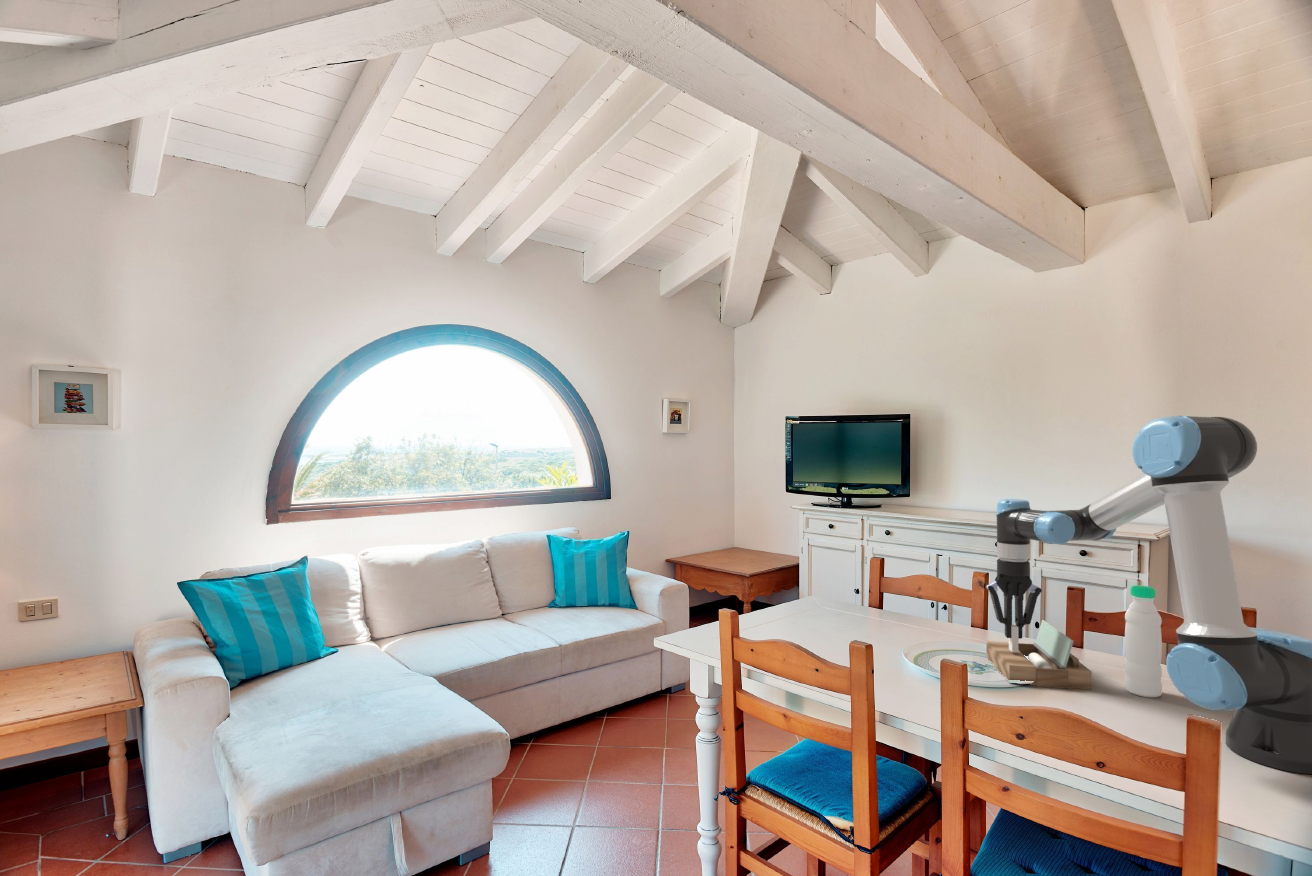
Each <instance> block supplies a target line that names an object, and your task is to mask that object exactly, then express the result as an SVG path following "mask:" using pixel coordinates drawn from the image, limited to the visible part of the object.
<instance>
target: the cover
mask: <svg viewBox="0 0 1312 876" xmlns="http://www.w3.org/2000/svg"><path fill="white" fill-rule="evenodd" d="M1032 644H1033V645H1034V646H1035V647H1036V648H1037V649H1038V650H1040V651H1041V652H1042V653H1043V654H1044V655H1045V656H1047V657H1048V658H1049V659H1050V660H1051V661H1052V662H1054V663H1055V664H1056V665H1057V666H1058V667H1059V668H1061V669H1065V668H1066V665H1067V662H1068V658H1069V655H1070V653H1071V652H1072V648H1073V645H1074V640H1072V639H1071V638H1070V637H1068V636H1067V635H1065V633H1063V632H1062V631H1061V630H1059V629H1057V628H1056V627H1054V626H1053V625H1051V624H1050V623H1049V622H1048V621H1046V619H1045V620H1044V619H1042V620H1041V624H1040V626H1039V630H1038V634H1037V637H1036V639H1035V642H1033V643H1032Z"/></svg>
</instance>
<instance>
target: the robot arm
mask: <svg viewBox="0 0 1312 876" xmlns="http://www.w3.org/2000/svg"><path fill="white" fill-rule="evenodd" d="M1256 439H1257V438H1256V437H1255V435H1254V433H1253V432H1252V431H1251V429H1250V428H1248V427H1247V426H1246V425H1245V424H1244V423H1242V422H1239V421H1238V420H1236V419H1234V418H1230V417H1224V416H1187V415H1176V416H1165V417H1159V418H1156V419H1154V420H1151V421H1150V422H1148V423H1146V424H1145V425H1143V427H1142V428H1141V429H1140V431H1139V432H1138V433H1136V436H1135V438H1134V441H1133V444H1132V448H1131V449H1132V453H1131V454H1132V457H1133V463H1135V466H1136V467H1137V468H1138V469H1140V470H1141V472H1142V473H1143V474H1140V475H1139V476H1138V477H1136V478H1134V479H1132V480H1131V481H1128V482H1127V483H1124V484H1123V485H1121V486H1119V487H1118V488H1115V489H1114V490H1113V491H1111V492H1109V493H1107V494H1106V495H1104V496H1102V497H1100V498H1099V499H1097V500H1095V501H1093V502H1092V503H1090V504H1088V505H1086V506H1084V507H1082V508H1080V509H1070V510H1069V509H1067V510H1066V509H1065V510H1041V509H1040V510H1039V509H1031V507H1030V506H1031V505H1030V502H1029V500H1026V499H1020V498H1019V499H1018V498H1017V499H1016V498H1002V499H1000V500H998V501H997V505H996V514H995V515H996V550H997V551H996V556H997V558H998V559H997V560H996V577H995V579H994V581H993V582H992V583H990V584H989V583H987V584H986V585H985V588H986V590H987V591H988V593H989V595H990V598H991V603H992V606H993V610H994V613H995V614H994V615H995V617H996V618H995V619H996V620H997V621H998V622H999V623H1000V624H1003V625H1004V635H1005V637H1006V638H1007V639H1008V642H1009V649H1010V650H1011V651H1012V652H1018V643H1019V639H1020V640H1021V639H1023V628H1024V626H1026V625H1030V624H1031V623H1032V619H1033V615H1034V612H1035V607H1036V604H1037V599H1038V597H1039V596H1040V595H1041V593H1042V591H1043V589H1042V588H1041V587H1039V586H1037V585H1035V584H1034V583H1033V581H1032V578H1031V562H1030V561H1029V560H1030V558H1031V551H1030V550H1031V549H1030V548H1031V544H1030V543H1031V541H1032V540H1033V541H1038V542H1041V543H1042V542H1043V543H1046V544H1050V545H1053V544H1055V545H1065V544H1067V543H1068V542H1075V541H1077V542H1078V541H1079V542H1080V541H1100V540H1106V539H1109V538H1112V536H1113V535H1114V533H1115V532H1116V531H1117V528H1119V527H1122V526H1123V525H1125V524H1127V523H1129V522H1132V521H1133V520H1136V519H1138V518H1140V517H1142V516H1144V515H1146V514H1147V513H1149V512H1152V511H1154V510H1155V509H1157V508H1159V507H1161V506H1165V514H1166V518H1167V519H1166V520H1167V524H1168V525H1167V526H1168V530H1169V536H1170V542H1171V548H1172V556H1173V561H1174V566H1175V573H1176V578H1177V585H1178V590H1179V596H1180V605H1181V609H1182V614H1183V623H1181V625H1180V626H1179V627H1177V628H1176V629H1175V633H1176V638H1177V645H1175V646H1174V647H1172V648H1171V649H1170V652H1169V653H1167V656H1166V661H1165V662H1166V663H1165V664H1166V665H1165V666H1166V670H1167V675H1168V676H1169V678H1170V681H1171V683H1172V685H1173V686H1174V687H1175V688H1176V690H1177V691H1178V692H1179V693H1180V694H1182V695H1183V696H1184V697H1185V698H1186V700H1188V701H1190V702H1191V703H1192V704H1194V705H1196V706H1198V707H1201V708H1204V709H1206V710H1212V711H1234V713H1233V715H1232V717H1231V719H1230V721H1229V722H1230V723H1228V726H1227V728H1226V731H1225V745H1226V746H1227V748H1229V750H1231V751H1232V752H1233V753H1235V754H1237V755H1239V756H1242V757H1243V758H1245V759H1247V760H1249V761H1253V762H1255V763H1257V764H1260V765H1264V766H1267V767H1270V768H1274V769H1278V770H1283V771H1287V772H1293V773H1297V774H1305V775H1312V640H1311V639H1308V638H1306V637H1302V636H1299V635H1294V634H1290V633H1286V632H1285V633H1284V632H1281V631H1280V632H1279V631H1277V630H1276V631H1275V630H1272V629H1271V630H1270V629H1264V628H1259V627H1249V626H1248V625H1246V623H1244V617H1243V612H1242V606H1241V600H1240V594H1239V590H1238V584H1237V578H1236V572H1235V567H1234V561H1233V556H1232V551H1231V545H1230V540H1229V535H1228V528H1227V524H1226V517H1225V511H1224V505H1223V500H1222V496H1221V493H1222V491H1223V489H1224V488H1226V487H1227V486H1228V485H1229V483H1230V481H1229V479H1230V478H1232V477H1235V476H1236V475H1238V474H1240V473H1241V472H1243V471H1245V470H1246V469H1248V467H1249V466H1251V464H1252V463H1253V462H1254V460H1255V459H1256V456H1257V452H1258V443H1257V440H1256ZM998 588H999V590H1001V592H1002V594H1003V610H1002V606H1001V602H1000V598H999V595H998ZM1027 591H1029V594H1028V596H1027V600H1026V604H1025V609H1024V598H1025V597H1024V595H1025V594H1026V593H1027ZM1013 599H1014V624H1013Z"/></svg>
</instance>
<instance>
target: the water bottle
mask: <svg viewBox="0 0 1312 876" xmlns="http://www.w3.org/2000/svg"><path fill="white" fill-rule="evenodd" d="M1130 595H1131V596H1130V597H1131V598H1132V602H1131V603H1130V604H1129V606H1128V608H1127V610H1126V611H1125V614H1124V620H1125V629H1124V651H1125V653H1124V655H1125V663H1124V671H1125V678H1124V688H1125V690H1126V691H1127V692H1128V693H1131V694H1132V695H1135V696H1140V697H1143V698H1154V699H1155V698H1158V697H1160V696H1161V695H1162V694H1163V686H1162V685H1163V684H1162V675H1163V671H1162V670H1163V669H1162V665H1161V663H1162V651H1163V650H1162V649H1163V643H1162V642H1163V641H1162V628H1161V627H1162V626H1161V625H1162V624H1163V623H1162V622H1163V621H1162V617H1161V615H1160V613H1159V612H1158V609H1157V607H1156V605H1155V604H1154V600H1155V599H1156V589H1155V588H1154V587H1151V586H1147V585H1131V587H1130Z"/></svg>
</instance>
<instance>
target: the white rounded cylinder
mask: <svg viewBox="0 0 1312 876" xmlns="http://www.w3.org/2000/svg"><path fill="white" fill-rule="evenodd" d="M1028 659H1029V660H1030V661H1031V662H1032V663H1033V664H1034V665H1035V666H1036V668H1049V669H1055V668H1054V667H1053V666H1051V665H1050V664H1049V663H1048V662H1047V661H1046V660H1045V659H1043V658H1042V657H1041V656H1040V655H1039V654H1037V653H1031V654H1029V656H1028Z"/></svg>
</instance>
